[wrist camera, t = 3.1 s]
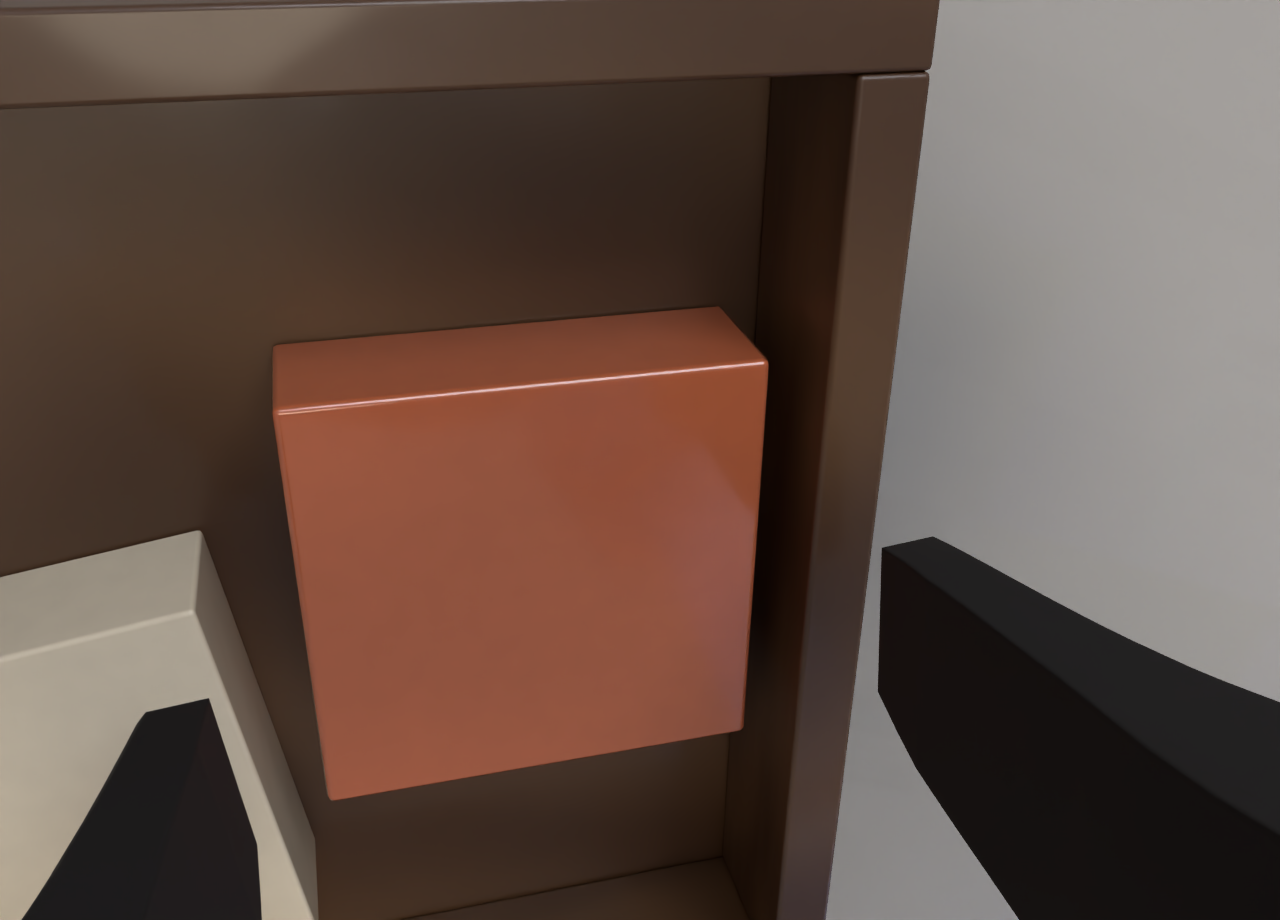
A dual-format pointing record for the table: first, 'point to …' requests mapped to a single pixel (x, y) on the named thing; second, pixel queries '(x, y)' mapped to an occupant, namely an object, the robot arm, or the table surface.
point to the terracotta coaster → (521, 539)
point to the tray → (456, 299)
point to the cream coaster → (130, 707)
